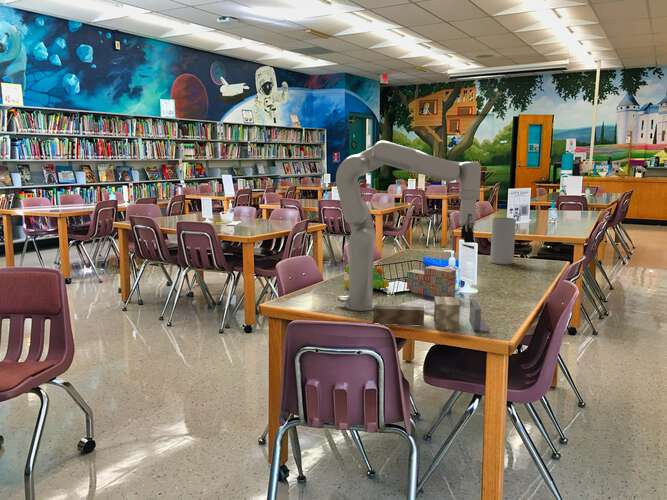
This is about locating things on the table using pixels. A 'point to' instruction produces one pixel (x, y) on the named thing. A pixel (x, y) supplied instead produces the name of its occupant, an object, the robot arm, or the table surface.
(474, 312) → the grey piece
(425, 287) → the stack of blocks
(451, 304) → the maple block
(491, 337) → the table surface
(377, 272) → the turtle toy
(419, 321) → the walnut bar
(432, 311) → the calculator
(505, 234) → the cylinder vase
